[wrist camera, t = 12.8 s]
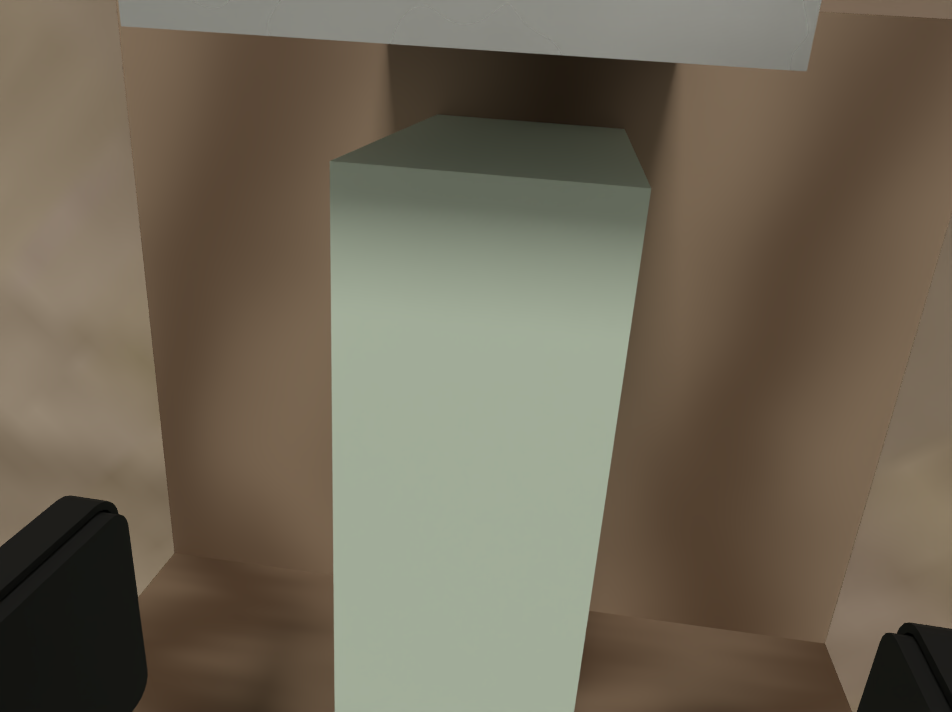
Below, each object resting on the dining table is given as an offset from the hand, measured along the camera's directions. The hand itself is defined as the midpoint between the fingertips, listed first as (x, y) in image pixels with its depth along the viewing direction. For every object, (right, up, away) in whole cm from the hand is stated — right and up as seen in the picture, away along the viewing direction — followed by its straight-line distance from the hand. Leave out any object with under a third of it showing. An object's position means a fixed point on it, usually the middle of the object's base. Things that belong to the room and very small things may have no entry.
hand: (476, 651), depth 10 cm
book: (+1, +4, +9) cm, 10 cm away
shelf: (+1, +4, +10) cm, 11 cm away
